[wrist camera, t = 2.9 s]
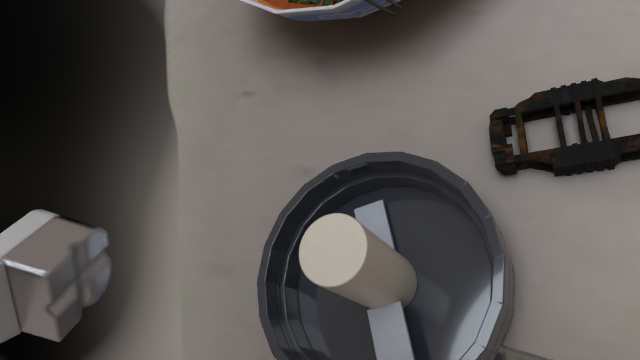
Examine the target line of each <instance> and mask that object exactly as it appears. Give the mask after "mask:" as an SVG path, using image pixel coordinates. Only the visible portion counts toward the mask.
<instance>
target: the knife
mask: <svg viewBox="0 0 640 360" xmlns="http://www.w3.org/2000/svg"><path fill="white" fill-rule="evenodd" d="M591 80H592V81H588V82H586V81H581V83H579V84H576V83H572V84H571V85H570V86H566V85H563V86H561V88H556V87H554V88H551V90H547V91H542V92H538V93H534V94H533V95H532V96H531V97H530V98H528V99H526V100H524V101H522V102H520V103H518V104H517V105H516V106H515V107H514V108H510V109H507V108H502V109H497V110H494V111H493V113H492V114H491V115H490V126H489V132H490V141H491V150H492V154H493V157H494V159H495V166H496V168H497V171H499V172H500V173H502V174H504V175H506V174H513V173H517V170H521V169H527V168H534V169H540V170H546V171H552V172H554V175H555V176H560V175H566V176H569V175H571V174H573V173H577V174H582V172H586V171H587V173H589V172H593V170H598V171H603V169H606V168H609V170H610V169H614V167H615V166H616V165H617V164H618V163H619V162H622V161H628V160H635V159H640V134H636V135H630V136H625V137H619V138H613V139H610V135H609V132H608V128H607V125H606V120H605V115H604V109H603V106H607V105H612V104H617V103H623V102H628V101H633V100H638V99H640V79H639V78H621V79H616V80H612V81H607V82H603V81H600V80H597V78H595V79H591ZM592 108H595V109H596V113H597V116H598V120H599V123H600V128H601V134H602V139H603V140H601V141H599V137H598V134H597V130H596V127H595V123H594V119H593V116H592V112H591V109H592ZM582 110H585V112H586V116H587V120H588V123H589V127H590V131H591V135H592V139H593V142H590V143H588V141H587V140H586V134H585V128H584V123H583V117H582ZM572 112H575V113H576V115H577V121H578V126H579V132H580V138H581V143H582V144H578V145H577V143H575V144H572V146H567V145H566V140H565V134H564V129H563V124H562V119H561V114H565V115H569V114H570V113H572ZM513 115H515V116H514V117H509V116H513ZM551 116H555V117H556V122H557V128H558V133H559V139H560V144H561V147H560V148H554V149H549V150H543V151H537V152H531V153H528V149H527V142H526V136H525V129H524V122H526V121H531V120H536V119H541V118H546V117H551ZM510 124H516V126H517V133H518V139H519V146H520V153H521V154H519V155H513V148H512V144H506V137H507V136H512V132H511V125H510Z"/></svg>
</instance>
